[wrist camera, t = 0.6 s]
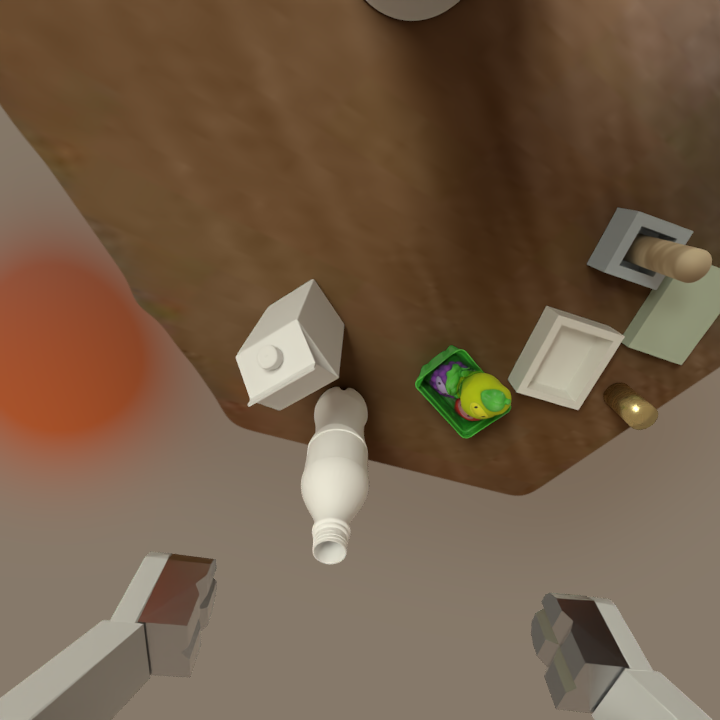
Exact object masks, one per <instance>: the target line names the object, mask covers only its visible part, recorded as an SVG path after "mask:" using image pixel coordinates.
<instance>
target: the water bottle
mask: <svg viewBox="0 0 720 720" xmlns="http://www.w3.org/2000/svg"><path fill="white" fill-rule="evenodd" d="M367 419H368V411H367V407H366V403H365V401H364V399H363V397H362V396H361V395H360V394H359V393H358V392H357V391H356V390H354V389H353V388H347V389H346V390H341V389H340V387H333V388H330V389H328V390H327V391H325V392H324V393H323V394H322V395H321V397H320V398H319V400H318V402H317V404H316V406H315V411H314V420H315V425H316V433H315V434H314V436H313V437H312V439H311V440H310V442H309V445H308V451H307V458H306V464H305V469H304V473H303V475H302V479H301V491H302V496H303V500H304V502H305V504H306V506H307V509H308V510H309V512H310V514H311V515H312V517H313V519H314V522H315V523H314V525H313V527H312V535H313V540H314V541H313V555H314V557H315V558H316V559H317V560H318V561H320V562H322V563H324V564H335V563H339V562H340V561H342V560H343V559H344V558H345V557H346V552H347V542H348V540H349V537H350V534H351V530H350V526H349V524H350V522H351V521H352V520H353V519H354V517H355V516H356V515H357V514H358V512H359V511H360V509H361V508H362V506H363V505H364V503H365V501H366V499H367V496H368V492H369V478H368V450H367V446H366V443H365V439H364V425H365V424H366V422H367Z"/></svg>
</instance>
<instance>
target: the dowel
mask: <svg viewBox="0 0 720 720" xmlns="http://www.w3.org/2000/svg"><path fill="white" fill-rule="evenodd" d="M623 260H624V261H627V262H630V263H632V264H635V265H638V266H641V267H643V268H646V269H649V270H651V271H654V272H657V273H660V274H662V275H665V276H668V277H671V278H673V279H676V280H679V281H681V282H684V283H693V282H696V281H698V280H700V279H701V278H703V277H704V276H705V275H706V274H707V273H708V271H709V269H710V267H711V264H712V257H711V255H710V253H709V252H708V251H706V250H703V249H699V248H695V247H691V246H687V245H683V244H679V243H675V242H671V241H667V240H663V239H659V238H655V237H651V236H647V235H643V234H639V233H638V234H637V236H636V237H635V239H634V241H633V243H632V244H631V246H630V248H629V249H628V251H627V253H626V255H625V256H624V258H623Z"/></svg>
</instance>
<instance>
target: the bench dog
mask: <svg viewBox="0 0 720 720" xmlns="http://www.w3.org/2000/svg"><path fill="white" fill-rule="evenodd" d="M603 398H604V401H605V402H606V403H607V404H608V405H609V406H610V407H611V408H612V409H613V410H614V411H615V412H616V413H617V414H618V415H619V416H620V417H621V418H622V419H623V420H624V421H625V422H626V423H627V424H628V425H629V426H630V427H632V428H633V429H637V430H642V429H646V428H648V427H650V426H651V425H653V424H654V423H655V421H656V420H657V418H658V411H657V409H656V408H654V407H653V406H652V405H651V404H650V403H648V402H647V401H646V400H645V399H644V398H642V397H641V396H640V395H639V394H638V393H636V392H635V391H634V390H633V389H632V388H630V387H629V386H628V385H627V384H625V383H615V384H613V385H611V386H609V387H608V388H607V389H606V391H605V392H604V396H603Z"/></svg>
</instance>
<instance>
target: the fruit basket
mask: <svg viewBox="0 0 720 720" xmlns="http://www.w3.org/2000/svg"><path fill="white" fill-rule="evenodd" d="M415 386H416V388H417V389H418V391H419V392H420V393H421V394H422V395H423V396H424V397H425V398H426V399H427V400H428V401H429V402H430V403H431V404H432V405H433V406H434V408H435V409H436V410H437V411H438V412H439V413H440V414H441V415H442V416H443V417H444V418H445V420H446V421H447V422H448V423H449V424H450V425H451V426H452V427H453V428H454V429H455V430H456V432H457V433H458V434H459V435H460V436H461V437H462V438H470V437H472V436H473V435H475V434H476V433H478V432H479V431H481V430H482V429H484V428H485V427H487V426H488V425H490V424H491V423H493V422H494V421H496V420H498V419H499V418H501V417H502V416H504V415H505V414H507V413H508V412H509V411H510V410H511V393H510V391H509V390H508V389H507V388H506V387H505V386H503V385H502V384H501V383H500V381H499V380H498V379H496V378H495V377H494V376H492V375H490V374H487V373H484V372H483V371H482V370H481V369H480V367H479V366H478V365H477V364H476V363H475V361H474V360H473V359H472V358H471V357H470V355H469V354H468V353H467V352H466V351H465V350H462V349H458V348H457V347H455V346H453V345H451V346H449V347H448V348H447V349H446V351H443V352H441V353H440V354H438V355H437V356H436V357H434V358H433V359H432V360H431V361H430V362H429V364H426V365H424V366H423V367H422V369H421V372H420V375H419V377H418V378H417V380H416V383H415Z"/></svg>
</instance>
